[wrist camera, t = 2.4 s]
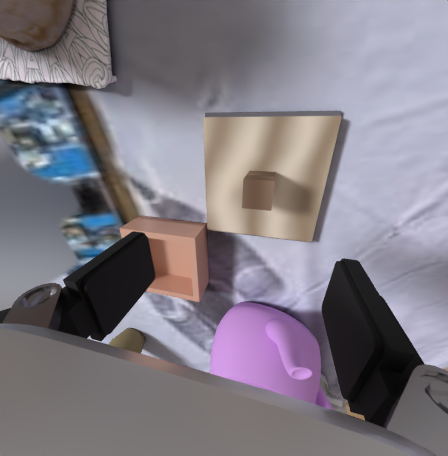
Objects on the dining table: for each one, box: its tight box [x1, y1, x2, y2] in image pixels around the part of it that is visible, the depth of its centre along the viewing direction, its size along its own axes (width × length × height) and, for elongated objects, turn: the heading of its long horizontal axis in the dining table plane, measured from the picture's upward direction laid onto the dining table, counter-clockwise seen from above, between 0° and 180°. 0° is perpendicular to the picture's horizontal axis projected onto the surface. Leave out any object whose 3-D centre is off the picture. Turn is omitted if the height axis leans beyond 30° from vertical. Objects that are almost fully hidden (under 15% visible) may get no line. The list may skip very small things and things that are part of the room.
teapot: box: [210, 302, 334, 410], centre depth 30 cm, size 23×21×15 cm
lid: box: [203, 116, 342, 242], centre depth 23 cm, size 15×15×6 cm
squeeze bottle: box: [109, 328, 145, 354], centre depth 43 cm, size 8×8×18 cm
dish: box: [120, 216, 209, 302], centre depth 33 cm, size 12×12×5 cm
